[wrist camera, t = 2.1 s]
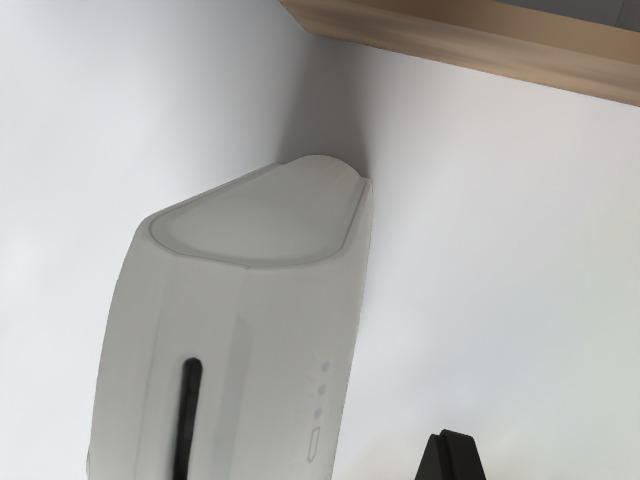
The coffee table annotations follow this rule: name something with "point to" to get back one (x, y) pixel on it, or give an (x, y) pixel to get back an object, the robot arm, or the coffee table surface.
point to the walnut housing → (489, 40)
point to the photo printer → (236, 330)
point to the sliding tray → (575, 9)
